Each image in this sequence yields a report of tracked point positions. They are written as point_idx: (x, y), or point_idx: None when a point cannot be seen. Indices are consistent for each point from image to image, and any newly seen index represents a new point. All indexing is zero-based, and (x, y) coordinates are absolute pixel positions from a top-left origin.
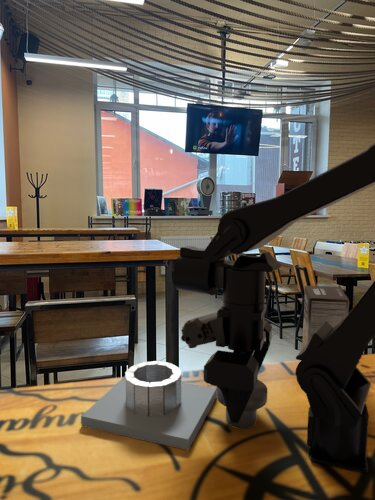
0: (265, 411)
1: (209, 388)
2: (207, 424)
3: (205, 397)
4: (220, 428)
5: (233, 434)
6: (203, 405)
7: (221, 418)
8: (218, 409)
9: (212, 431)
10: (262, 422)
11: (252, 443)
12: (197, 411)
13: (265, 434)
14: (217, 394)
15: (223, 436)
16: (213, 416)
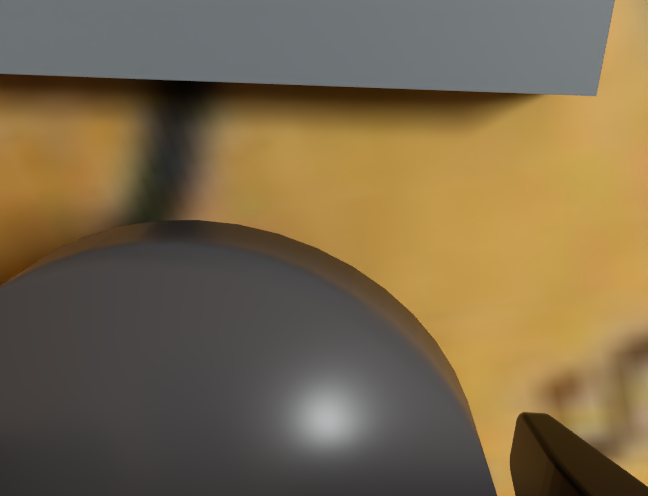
0: None
1: (575, 9)
2: (97, 115)
3: (350, 18)
4: (92, 223)
5: None
6: (180, 42)
7: (220, 205)
8: (343, 154)
9: (30, 175)
10: None
11: None
12: (47, 11)
13: None
14: (22, 272)
15: (14, 261)
16: (224, 136)
